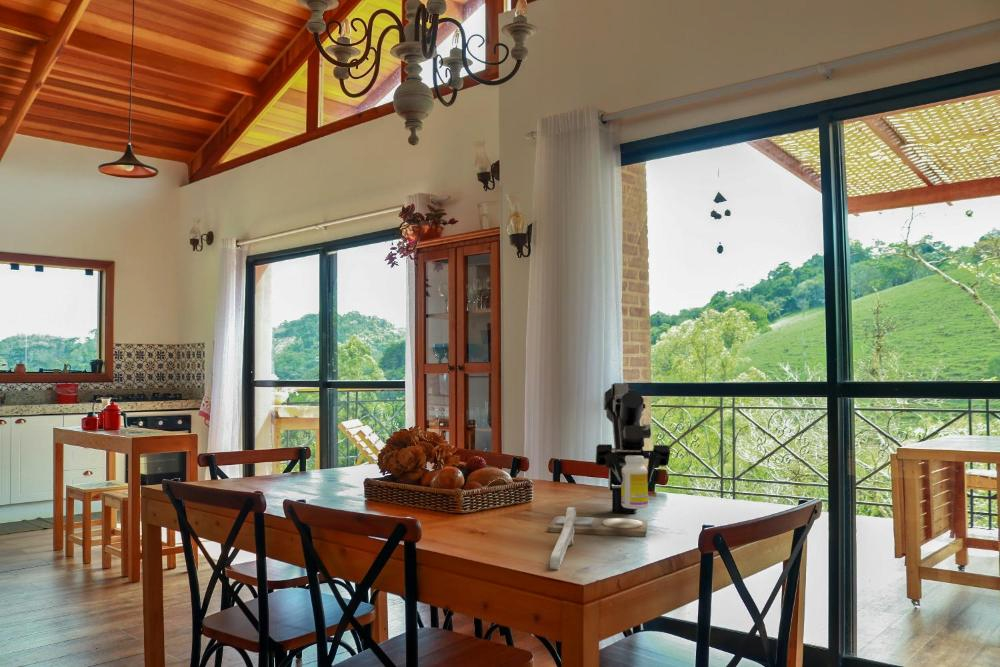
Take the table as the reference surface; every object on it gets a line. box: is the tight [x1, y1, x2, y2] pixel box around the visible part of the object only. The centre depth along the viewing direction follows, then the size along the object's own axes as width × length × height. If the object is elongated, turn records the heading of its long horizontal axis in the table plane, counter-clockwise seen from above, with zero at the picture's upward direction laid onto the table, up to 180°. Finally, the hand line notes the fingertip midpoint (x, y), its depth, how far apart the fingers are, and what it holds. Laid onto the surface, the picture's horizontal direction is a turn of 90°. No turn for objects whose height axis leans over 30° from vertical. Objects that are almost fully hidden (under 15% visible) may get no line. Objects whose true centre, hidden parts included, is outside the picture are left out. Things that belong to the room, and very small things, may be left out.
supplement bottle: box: [620, 455, 649, 510], centre depth 211 cm, size 7×7×13 cm
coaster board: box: [547, 515, 648, 537], centre depth 212 cm, size 24×15×2 cm, turn 79°
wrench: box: [549, 506, 577, 570], centre depth 184 cm, size 8×2×30 cm
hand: (635, 481), depth 209 cm, fingers closed on supplement bottle, 7 cm apart
